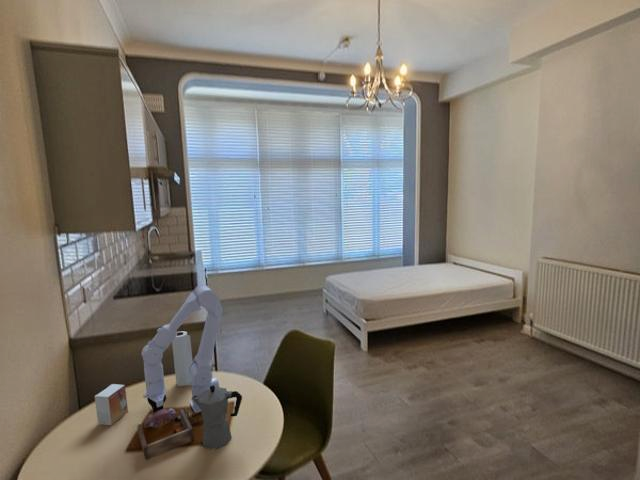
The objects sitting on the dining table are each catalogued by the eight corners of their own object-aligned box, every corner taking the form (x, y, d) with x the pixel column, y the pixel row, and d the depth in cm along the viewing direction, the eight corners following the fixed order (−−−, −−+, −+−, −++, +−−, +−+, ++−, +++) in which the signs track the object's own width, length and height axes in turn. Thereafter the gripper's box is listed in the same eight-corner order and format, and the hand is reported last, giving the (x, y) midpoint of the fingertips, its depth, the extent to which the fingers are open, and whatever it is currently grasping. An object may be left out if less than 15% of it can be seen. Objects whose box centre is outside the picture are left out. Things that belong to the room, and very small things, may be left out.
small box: (111, 426, 119) (107, 397, 118) (97, 424, 120) (93, 396, 119) (128, 411, 127) (125, 384, 125) (115, 410, 128) (112, 383, 127)
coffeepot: (191, 452, 105) (185, 396, 103) (199, 431, 115) (194, 379, 112) (242, 447, 106) (238, 392, 104) (247, 427, 116) (243, 376, 113)
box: (183, 419, 121) (182, 408, 120) (193, 440, 110) (192, 428, 110) (138, 436, 113) (137, 425, 113) (145, 460, 103) (143, 448, 102)
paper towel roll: (174, 382, 146) (169, 333, 143) (189, 377, 149) (184, 329, 146) (179, 389, 140) (174, 338, 137) (194, 384, 143) (189, 334, 140)
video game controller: (146, 435, 116) (144, 423, 112) (144, 423, 119) (143, 411, 115) (177, 424, 121) (177, 412, 117) (175, 413, 124) (174, 400, 120)
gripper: (138, 374, 123) (143, 409, 125) (144, 392, 111) (149, 431, 113) (160, 367, 127) (164, 402, 129) (168, 385, 115) (172, 423, 117)
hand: (158, 415), depth 121 cm, fingers closed
